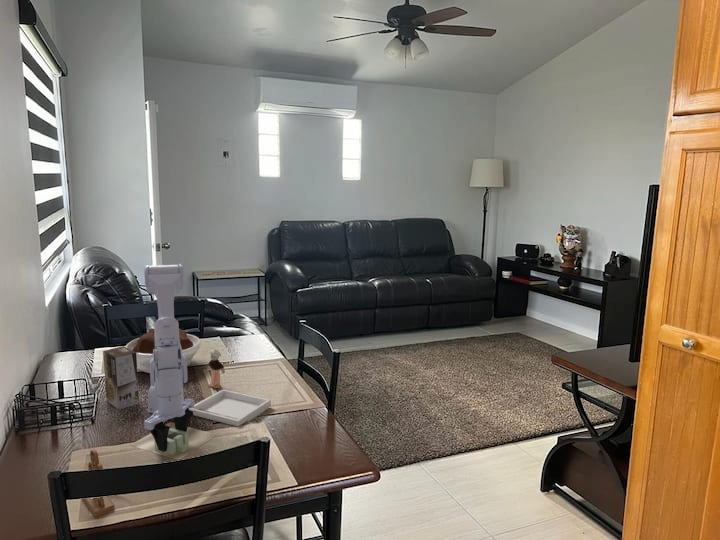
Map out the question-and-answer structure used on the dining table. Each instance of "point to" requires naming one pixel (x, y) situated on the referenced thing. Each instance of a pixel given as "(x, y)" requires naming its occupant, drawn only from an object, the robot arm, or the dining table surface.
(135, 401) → the coffee box
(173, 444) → the green block stack
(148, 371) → the bowl of brown treats
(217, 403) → the tray
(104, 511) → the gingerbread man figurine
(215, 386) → the grandmother figurine
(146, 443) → the board
